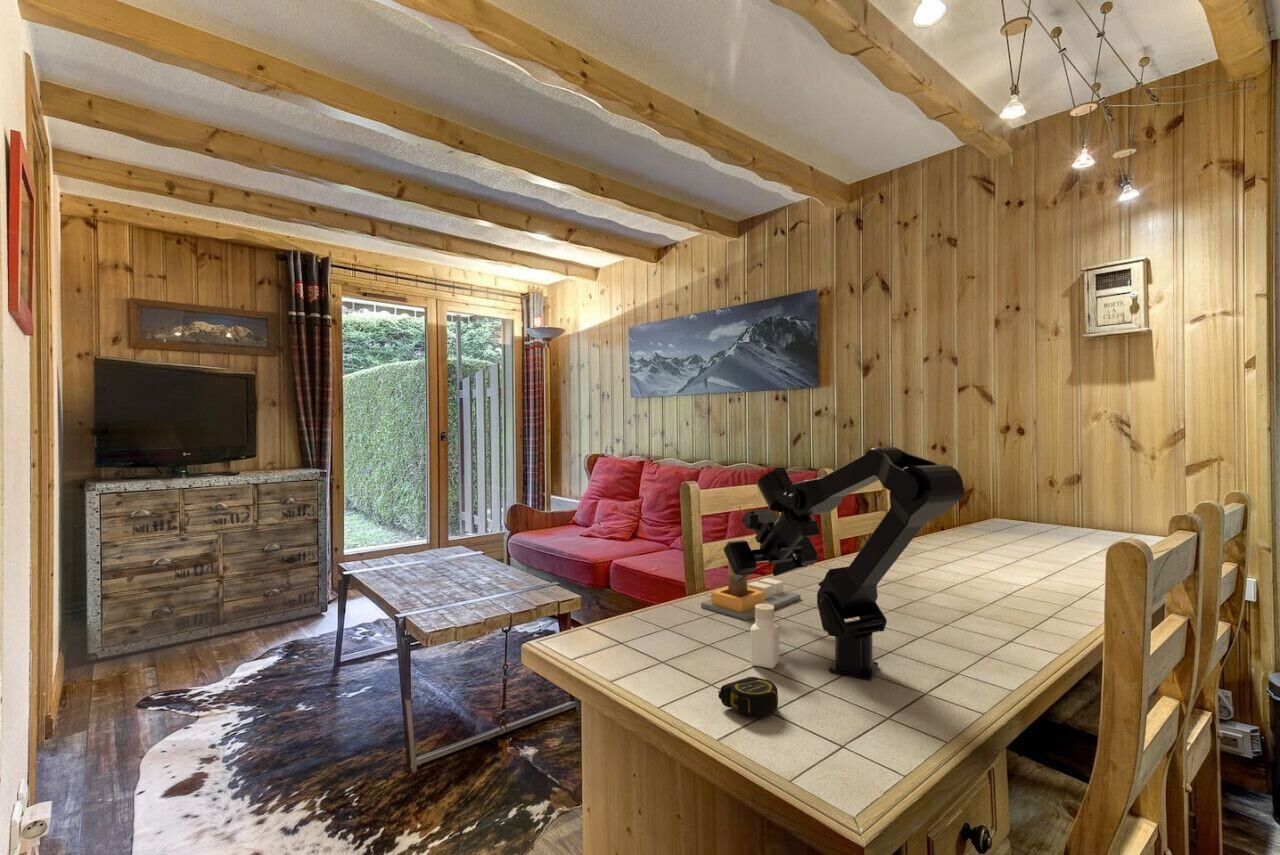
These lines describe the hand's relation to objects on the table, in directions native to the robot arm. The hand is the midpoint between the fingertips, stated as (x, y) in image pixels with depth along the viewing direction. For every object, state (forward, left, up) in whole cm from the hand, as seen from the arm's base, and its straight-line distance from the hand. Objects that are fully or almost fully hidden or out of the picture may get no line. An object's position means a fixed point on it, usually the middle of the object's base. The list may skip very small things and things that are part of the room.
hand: (754, 576), depth 121 cm
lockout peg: (+4, +5, -7) cm, 10 cm away
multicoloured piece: (+8, +4, -8) cm, 13 cm away
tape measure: (-37, -13, -9) cm, 40 cm away
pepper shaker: (-21, -10, -9) cm, 25 cm away
